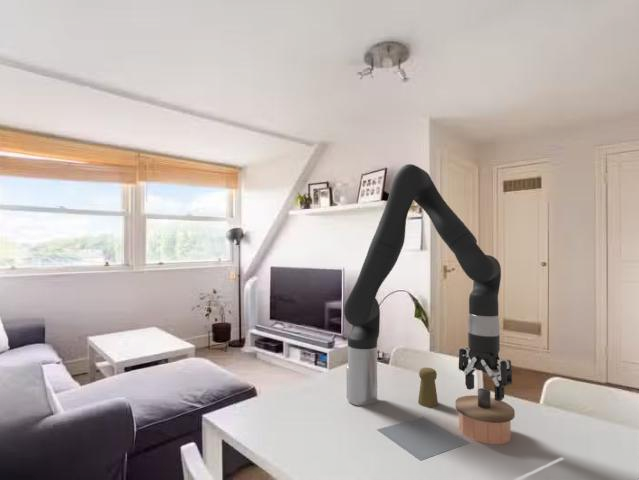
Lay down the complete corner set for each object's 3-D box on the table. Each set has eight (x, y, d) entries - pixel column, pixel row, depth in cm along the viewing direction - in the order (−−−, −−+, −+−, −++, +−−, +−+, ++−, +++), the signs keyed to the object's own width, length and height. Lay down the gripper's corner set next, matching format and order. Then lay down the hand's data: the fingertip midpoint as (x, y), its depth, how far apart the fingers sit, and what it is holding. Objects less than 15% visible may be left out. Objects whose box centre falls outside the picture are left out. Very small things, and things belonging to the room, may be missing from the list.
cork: (439, 409, 110) (439, 372, 110) (418, 408, 111) (418, 371, 111) (437, 401, 116) (436, 366, 116) (417, 399, 117) (417, 364, 117)
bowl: (449, 428, 98) (449, 405, 98) (480, 418, 104) (480, 397, 104) (489, 450, 88) (489, 424, 88) (520, 438, 93) (520, 414, 94)
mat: (376, 431, 97) (376, 429, 97) (422, 418, 104) (422, 416, 104) (420, 462, 83) (420, 460, 83) (469, 444, 90) (469, 442, 90)
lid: (444, 405, 99) (443, 386, 99) (479, 395, 106) (478, 377, 106) (490, 427, 86) (490, 406, 87) (526, 414, 93) (526, 394, 93)
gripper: (518, 335, 92) (518, 401, 92) (470, 325, 104) (471, 383, 104) (498, 339, 88) (499, 407, 88) (451, 327, 101) (452, 387, 101)
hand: (483, 394), depth 96 cm, fingers open, 8 cm apart
